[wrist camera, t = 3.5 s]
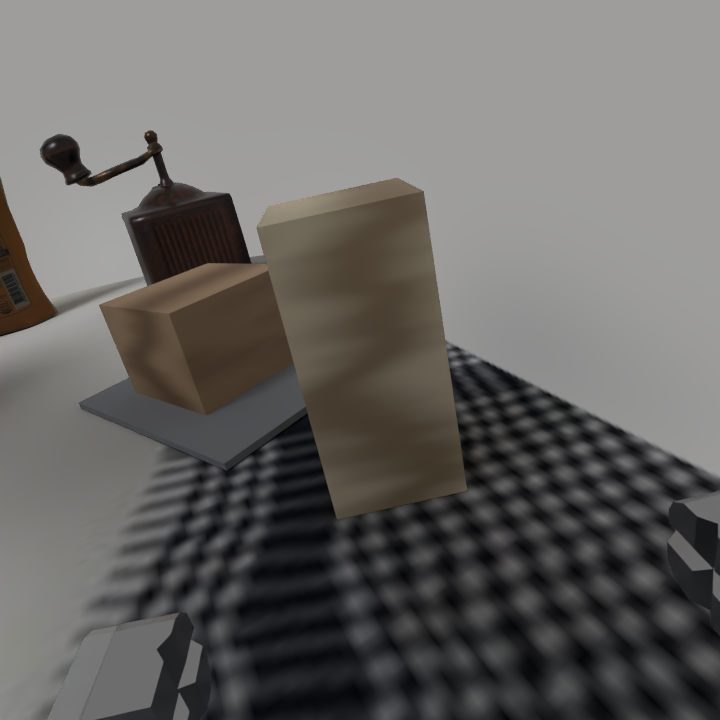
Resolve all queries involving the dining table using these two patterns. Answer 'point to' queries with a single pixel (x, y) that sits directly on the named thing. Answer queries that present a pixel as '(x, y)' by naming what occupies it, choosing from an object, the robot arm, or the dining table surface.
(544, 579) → the dining table surface
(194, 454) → the mat
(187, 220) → the manual coffee grinder
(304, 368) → the oak column
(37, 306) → the pancake mix bag
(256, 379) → the walnut block
